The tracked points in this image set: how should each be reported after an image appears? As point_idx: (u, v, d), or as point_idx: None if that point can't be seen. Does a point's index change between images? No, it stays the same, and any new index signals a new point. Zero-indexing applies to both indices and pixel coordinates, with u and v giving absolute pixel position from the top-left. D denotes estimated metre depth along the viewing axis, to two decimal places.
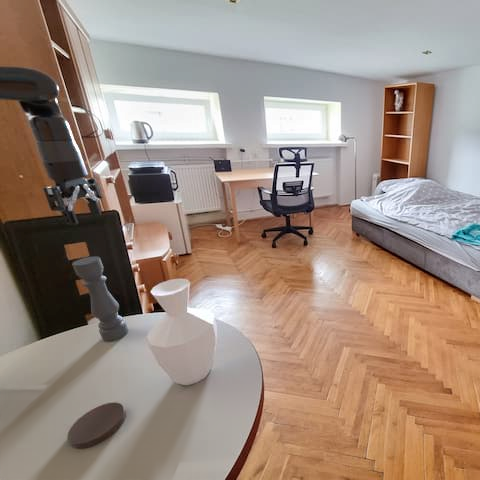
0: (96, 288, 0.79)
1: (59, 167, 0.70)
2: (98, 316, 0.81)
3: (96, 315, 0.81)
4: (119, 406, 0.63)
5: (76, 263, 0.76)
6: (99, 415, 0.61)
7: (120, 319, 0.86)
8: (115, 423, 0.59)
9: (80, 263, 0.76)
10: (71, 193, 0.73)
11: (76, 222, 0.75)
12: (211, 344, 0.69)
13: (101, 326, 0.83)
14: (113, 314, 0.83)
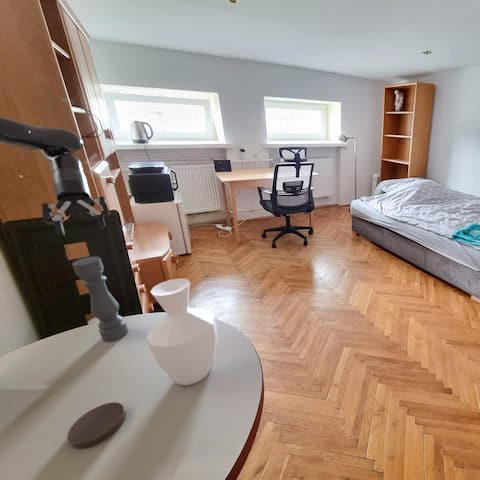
0: (96, 288, 0.79)
1: (55, 189, 0.85)
2: (98, 316, 0.81)
3: (96, 315, 0.81)
4: (119, 406, 0.63)
5: (76, 263, 0.76)
6: (99, 415, 0.61)
7: (120, 319, 0.86)
8: (115, 423, 0.59)
9: (80, 263, 0.76)
10: None
11: (59, 230, 0.81)
12: (211, 344, 0.69)
13: (101, 326, 0.83)
14: (113, 314, 0.83)
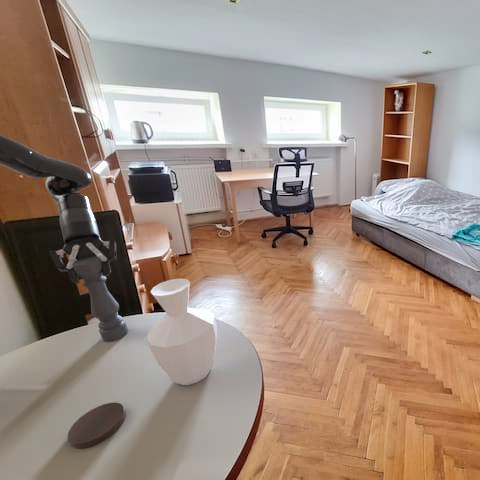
0: (96, 288, 0.79)
1: (62, 232, 0.79)
2: (98, 316, 0.81)
3: (96, 315, 0.81)
4: (119, 406, 0.63)
5: (76, 263, 0.76)
6: (99, 415, 0.61)
7: (120, 319, 0.86)
8: (115, 423, 0.59)
9: (80, 263, 0.76)
10: None
11: (74, 279, 0.76)
12: (211, 344, 0.69)
13: (101, 326, 0.83)
14: (113, 314, 0.83)
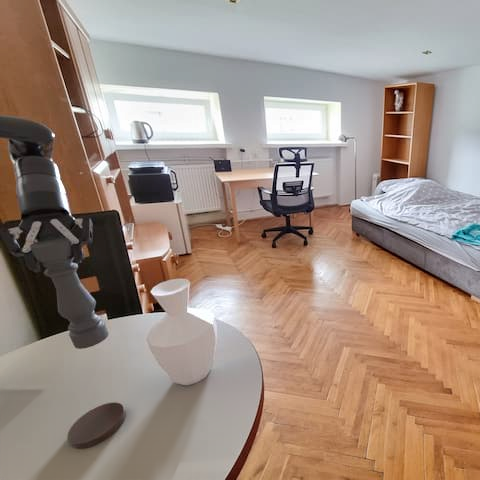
0: (63, 278, 0.60)
1: (18, 204, 0.60)
2: (67, 316, 0.62)
3: (64, 314, 0.62)
4: (119, 406, 0.63)
5: (36, 245, 0.57)
6: (99, 415, 0.61)
7: (97, 319, 0.67)
8: (115, 423, 0.59)
9: (41, 245, 0.57)
10: None
11: (32, 266, 0.57)
12: (211, 344, 0.69)
13: (71, 328, 0.64)
14: (88, 313, 0.64)
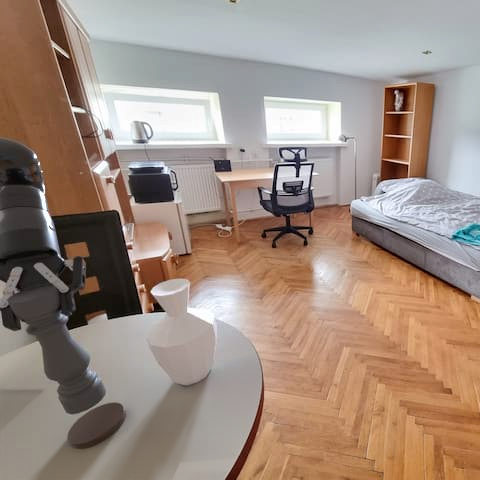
0: (50, 336, 0.50)
1: None
2: (55, 378, 0.51)
3: (51, 377, 0.51)
4: (119, 406, 0.63)
5: (15, 298, 0.47)
6: (99, 415, 0.61)
7: (92, 378, 0.56)
8: (115, 423, 0.59)
9: (21, 299, 0.46)
10: None
11: (10, 325, 0.46)
12: (211, 344, 0.69)
13: (61, 392, 0.53)
14: (80, 373, 0.54)
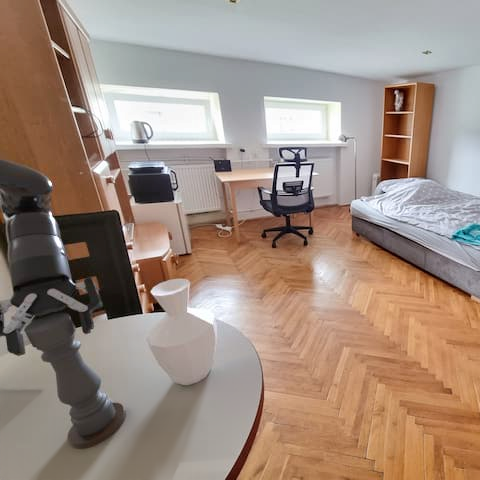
0: (64, 362, 0.52)
1: (10, 273, 0.51)
2: (68, 402, 0.54)
3: (65, 401, 0.53)
4: (119, 406, 0.63)
5: (31, 328, 0.49)
6: None
7: (103, 400, 0.58)
8: (115, 423, 0.59)
9: (37, 329, 0.49)
10: None
11: (14, 350, 0.47)
12: (211, 344, 0.69)
13: (73, 415, 0.55)
14: (92, 396, 0.56)
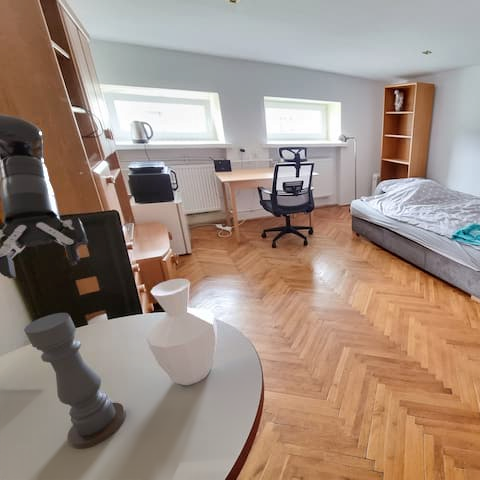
0: (64, 362, 0.52)
1: None
2: (68, 402, 0.54)
3: (65, 401, 0.53)
4: (119, 406, 0.63)
5: (31, 328, 0.49)
6: None
7: (103, 400, 0.58)
8: (115, 423, 0.59)
9: (37, 329, 0.49)
10: None
11: (5, 271, 0.52)
12: (211, 344, 0.69)
13: (73, 415, 0.55)
14: (92, 396, 0.56)
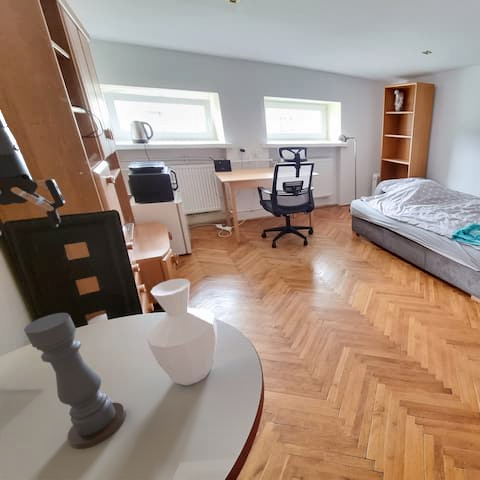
0: (64, 362, 0.52)
1: None
2: (68, 402, 0.54)
3: (65, 401, 0.53)
4: (119, 406, 0.63)
5: (31, 328, 0.49)
6: None
7: (103, 400, 0.58)
8: (115, 423, 0.59)
9: (37, 329, 0.49)
10: None
11: None
12: (211, 344, 0.69)
13: (73, 415, 0.55)
14: (92, 396, 0.56)
